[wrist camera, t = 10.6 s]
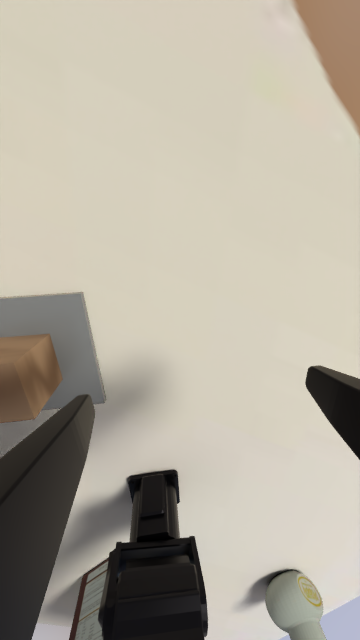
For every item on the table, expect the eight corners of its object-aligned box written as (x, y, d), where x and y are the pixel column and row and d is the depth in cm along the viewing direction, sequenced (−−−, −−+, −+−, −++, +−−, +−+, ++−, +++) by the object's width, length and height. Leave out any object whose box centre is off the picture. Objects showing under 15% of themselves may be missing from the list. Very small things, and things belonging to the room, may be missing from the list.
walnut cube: (62, 379, 20) (34, 419, 16) (9, 384, 20) (-36, 427, 15) (49, 333, 18) (13, 363, 14) (-9, 338, 18) (-67, 370, 13)
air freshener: (313, 573, 43) (357, 663, 34) (285, 591, 45) (319, 682, 35) (283, 561, 40) (322, 658, 31) (253, 582, 42) (282, 679, 32)
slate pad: (105, 398, 22) (104, 402, 22) (-11, 412, 21) (-16, 416, 21) (82, 292, 18) (80, 293, 18) (-64, 301, 17) (-71, 303, 17)
